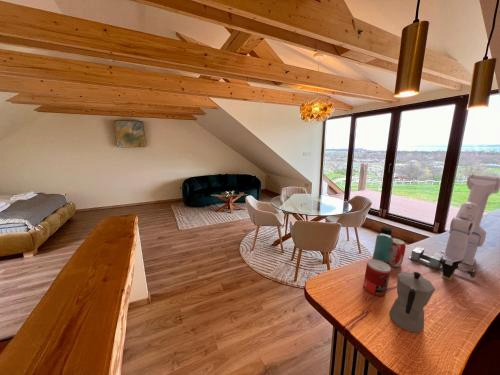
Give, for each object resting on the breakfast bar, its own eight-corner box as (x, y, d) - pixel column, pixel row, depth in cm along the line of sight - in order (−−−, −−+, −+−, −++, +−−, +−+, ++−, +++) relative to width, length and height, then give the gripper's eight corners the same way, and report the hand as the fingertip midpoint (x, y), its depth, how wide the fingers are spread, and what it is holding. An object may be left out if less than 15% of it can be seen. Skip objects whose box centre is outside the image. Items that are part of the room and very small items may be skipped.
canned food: (378, 299, 78) (383, 273, 75) (358, 286, 85) (362, 261, 82) (390, 293, 82) (395, 268, 79) (370, 280, 88) (375, 257, 86)
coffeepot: (392, 302, 77) (402, 258, 73) (425, 317, 71) (438, 270, 67) (382, 328, 66) (393, 278, 62) (420, 349, 60) (436, 295, 56)
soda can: (404, 269, 97) (409, 245, 94) (387, 267, 98) (392, 243, 95) (397, 260, 103) (402, 238, 101) (381, 258, 105) (385, 236, 102)
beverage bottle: (371, 270, 95) (378, 229, 90) (370, 263, 101) (377, 224, 96) (388, 275, 92) (397, 233, 87) (386, 267, 98) (394, 227, 93)
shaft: (431, 262, 100) (432, 256, 100) (433, 260, 102) (434, 255, 101) (473, 278, 89) (475, 272, 89) (474, 276, 91) (476, 270, 91)
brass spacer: (441, 276, 92) (444, 267, 91) (444, 273, 95) (446, 264, 94) (450, 280, 90) (453, 271, 89) (453, 276, 93) (455, 267, 92)
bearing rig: (408, 258, 106) (410, 250, 105) (413, 253, 110) (415, 245, 109) (439, 270, 96) (441, 261, 95) (444, 264, 101) (446, 256, 100)
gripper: (448, 237, 96) (440, 263, 99) (439, 246, 88) (431, 274, 91) (469, 243, 91) (461, 271, 94) (462, 254, 82) (453, 284, 85)
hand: (448, 273), depth 92 cm, fingers open, 6 cm apart
